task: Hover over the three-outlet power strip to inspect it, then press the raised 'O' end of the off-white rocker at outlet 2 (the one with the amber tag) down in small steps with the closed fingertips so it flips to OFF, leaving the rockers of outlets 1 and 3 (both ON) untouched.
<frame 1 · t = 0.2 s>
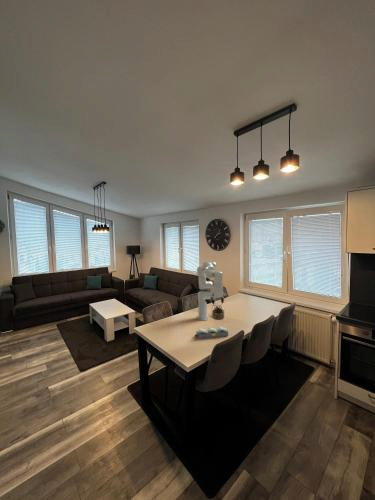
hand: (217, 303, 190), 31 cm above the table, fingers open, 9 cm apart
rocker 3: (222, 328, 192), point 6 cm above the table, hinge at -20.0°
rocker 2: (212, 329, 190), point 6 cm above the table, hinge at -20.0°
power strip: (212, 335, 191), on the table
rocker 1: (203, 330, 188), point 6 cm above the table, hinge at -20.0°
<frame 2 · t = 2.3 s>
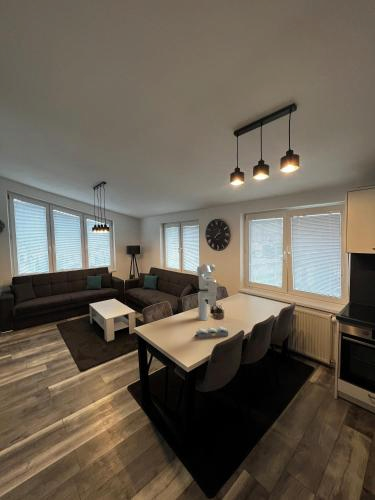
hand: (212, 313, 191), 21 cm above the table, fingers closed
nothing on the table moved.
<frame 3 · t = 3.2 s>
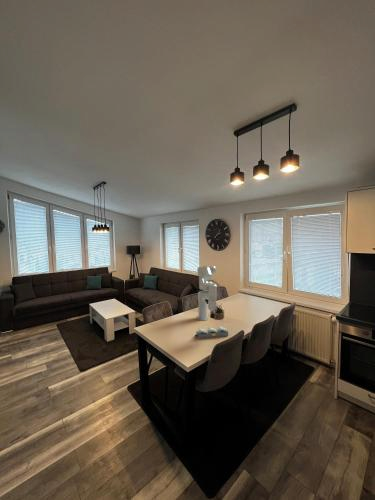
hand: (212, 317, 189), 18 cm above the table, fingers closed
nothing on the table moved.
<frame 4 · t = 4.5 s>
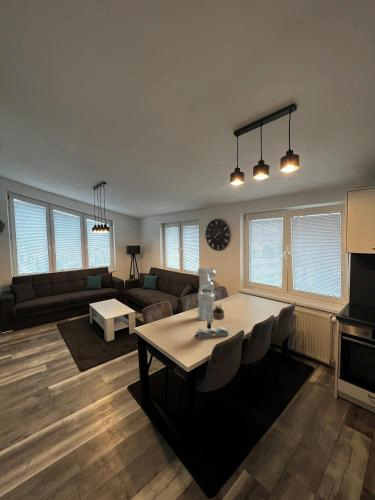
hand: (209, 328, 189), 8 cm above the table, fingers closed
rocker 2: (212, 329, 190), point 6 cm above the table, hinge at -17.7°, touching gripper
everything else where it was.
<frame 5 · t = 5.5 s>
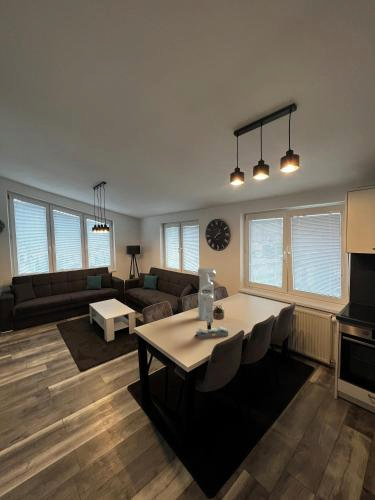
hand: (209, 329, 189), 7 cm above the table, fingers closed
rocker 2: (212, 329, 190), point 6 cm above the table, hinge at -5.0°, touching gripper
everything else where it was.
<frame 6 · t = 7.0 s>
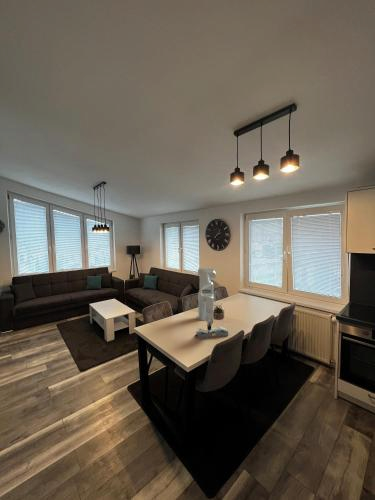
hand: (209, 329, 189), 7 cm above the table, fingers closed
rocker 2: (212, 329, 190), point 6 cm above the table, hinge at 10.2°
everything else where it was.
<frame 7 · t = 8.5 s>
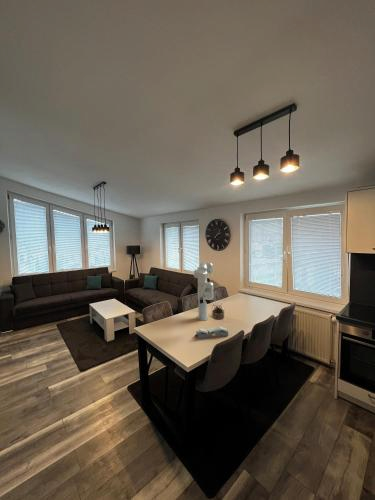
hand: (201, 303, 202), 27 cm above the table, fingers closed
rocker 2: (212, 329, 190), point 6 cm above the table, hinge at 14.6°
everything else where it was.
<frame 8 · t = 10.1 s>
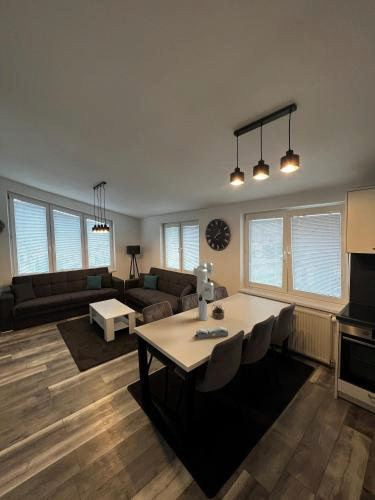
hand: (200, 300, 203), 29 cm above the table, fingers closed
rocker 2: (212, 329, 190), point 6 cm above the table, hinge at 16.2°
everything else where it was.
at the end: rocker 2 at +16° (first picture: -20°); rocker 1 at -20° (first picture: -20°); rocker 3 at -20° (first picture: -20°) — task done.
